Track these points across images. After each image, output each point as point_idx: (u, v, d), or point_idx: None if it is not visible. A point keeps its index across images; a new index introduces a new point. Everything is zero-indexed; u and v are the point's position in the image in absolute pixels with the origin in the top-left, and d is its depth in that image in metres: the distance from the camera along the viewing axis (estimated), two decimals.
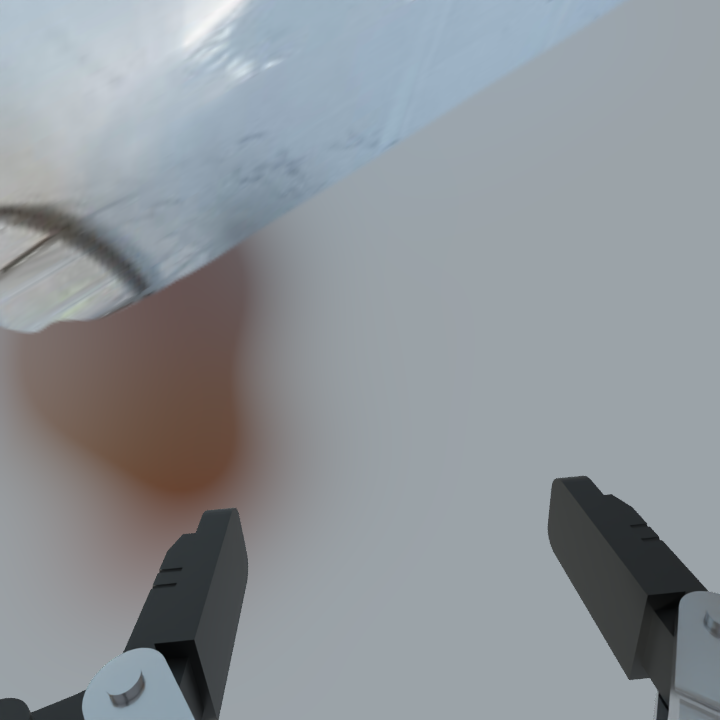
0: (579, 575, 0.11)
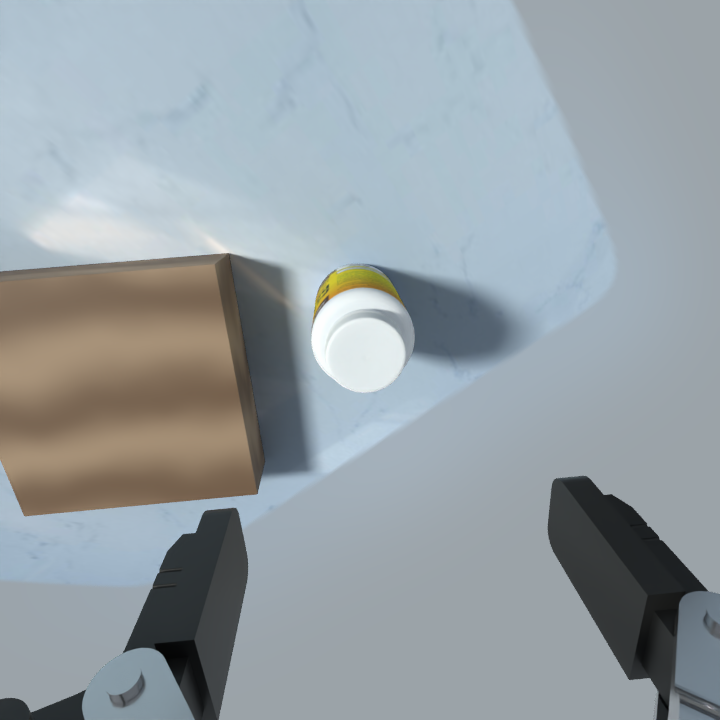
0: (579, 575, 0.11)
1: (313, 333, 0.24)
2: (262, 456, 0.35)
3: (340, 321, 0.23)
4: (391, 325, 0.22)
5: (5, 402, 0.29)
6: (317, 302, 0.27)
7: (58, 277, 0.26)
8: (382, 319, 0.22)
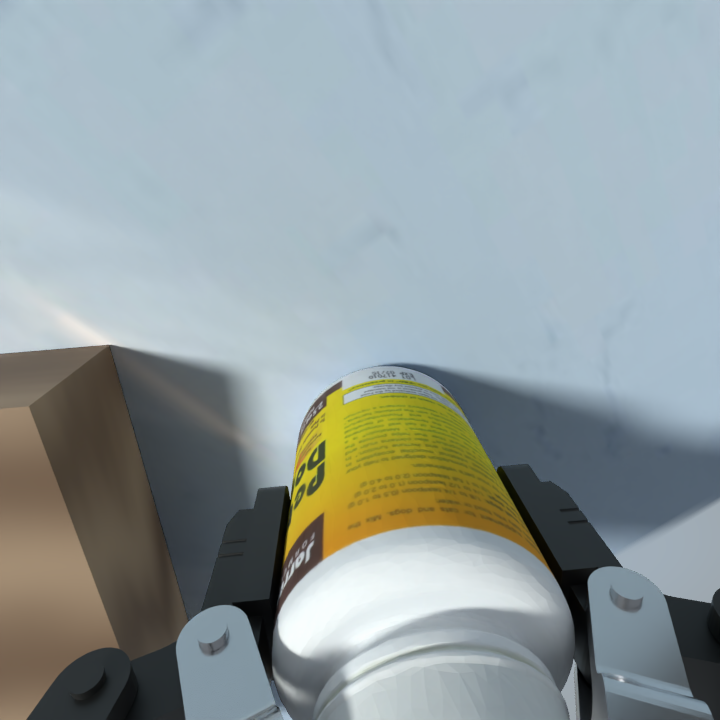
0: None
1: (276, 657, 0.08)
2: None
3: (363, 701, 0.06)
4: None
5: None
6: (296, 493, 0.11)
7: None
8: None
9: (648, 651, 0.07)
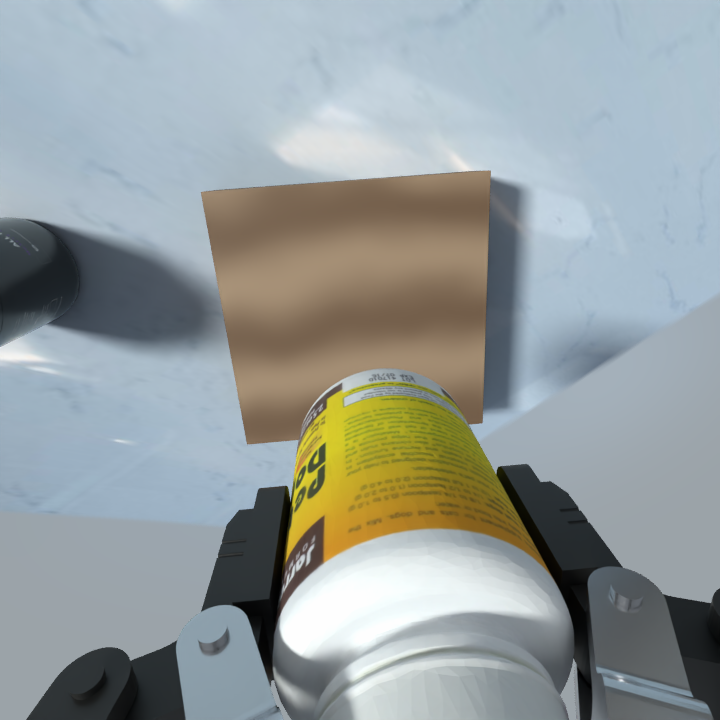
0: None
1: (277, 660, 0.08)
2: None
3: (364, 704, 0.06)
4: None
5: (253, 319, 0.28)
6: (296, 496, 0.11)
7: (332, 182, 0.26)
8: None
9: (648, 650, 0.07)
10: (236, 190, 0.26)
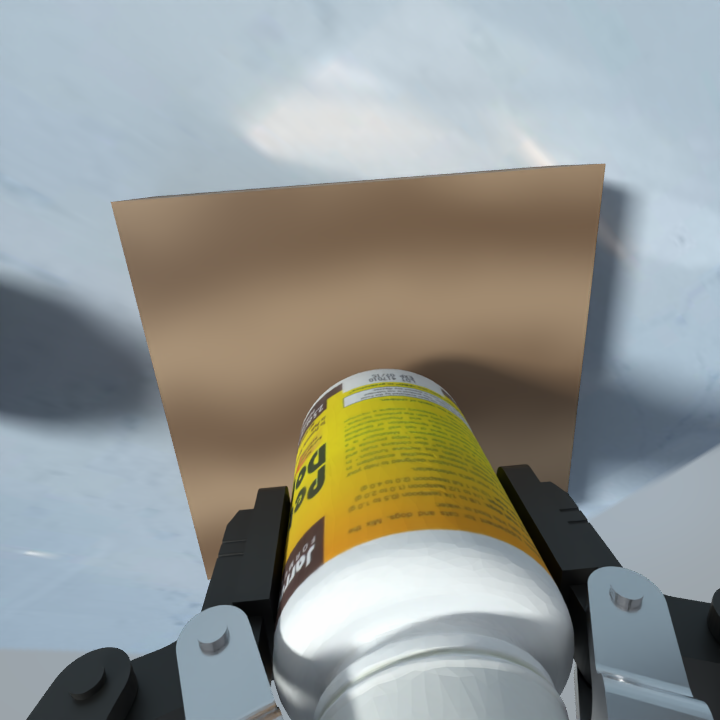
0: None
1: (277, 660, 0.08)
2: None
3: (364, 704, 0.06)
4: None
5: (210, 404, 0.18)
6: (296, 496, 0.11)
7: (337, 185, 0.15)
8: None
9: (648, 651, 0.07)
10: (172, 199, 0.15)
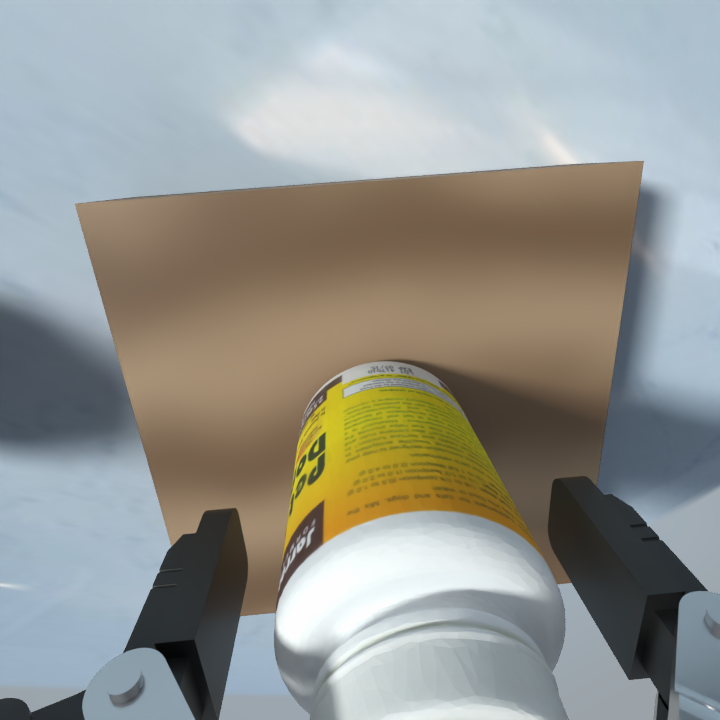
0: (579, 575, 0.11)
1: (278, 637, 0.08)
2: None
3: (361, 674, 0.07)
4: (546, 715, 0.06)
5: (192, 431, 0.16)
6: (297, 483, 0.11)
7: (336, 185, 0.13)
8: (515, 696, 0.06)
9: None
10: (145, 200, 0.13)
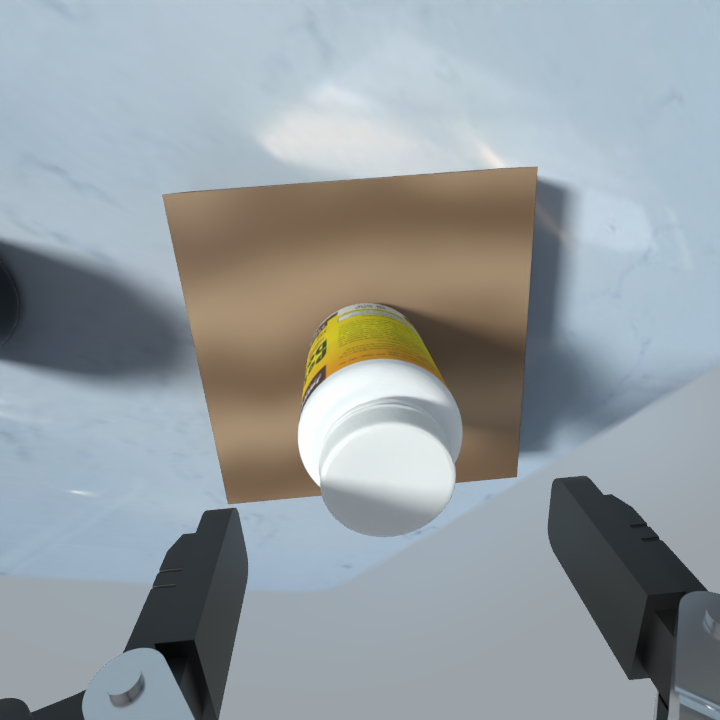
0: (579, 575, 0.11)
1: (301, 431, 0.15)
2: None
3: (345, 423, 0.13)
4: (432, 434, 0.13)
5: (233, 355, 0.22)
6: (309, 368, 0.18)
7: (333, 182, 0.20)
8: (417, 424, 0.13)
9: None
10: (208, 192, 0.20)
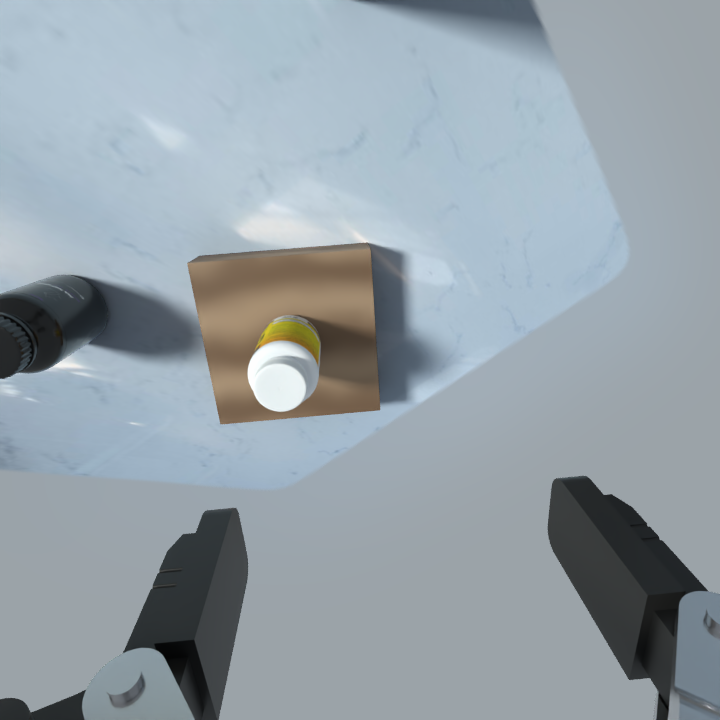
0: (579, 575, 0.11)
1: (248, 371, 0.36)
2: None
3: (263, 365, 0.34)
4: (295, 368, 0.34)
5: (222, 341, 0.43)
6: None
7: (270, 257, 0.41)
8: (289, 364, 0.34)
9: None
10: (209, 262, 0.41)
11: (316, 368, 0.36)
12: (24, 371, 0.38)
